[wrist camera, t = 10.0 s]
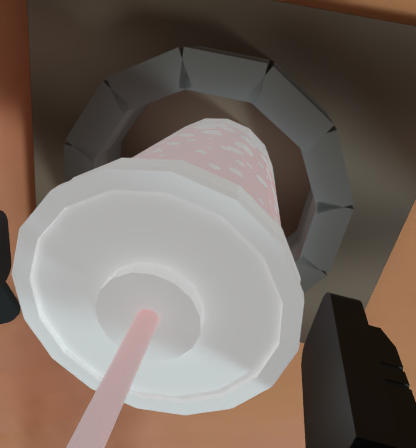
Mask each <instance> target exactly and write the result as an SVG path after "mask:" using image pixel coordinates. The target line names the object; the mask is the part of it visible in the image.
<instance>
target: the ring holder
mask: <svg viewBox="0 0 416 448" xmlns="http://www.w3.org/2000/svg"><path fill="white" fill-rule="evenodd" d="M27 9H28V32H29V55H30V78H31V101H32V124H33V147H34V170H35V192H36V208H37V207H38V205H39V204H40V203H41V202H42V200H43V199H44V198H45V197H46V196H47V194H48V193H49V192H50V191H51V190H52V189H54V188H55V187H57V186H58V185H60V184H63V183H65V182H68V181H70V180H71V179H72V178H73V177H76V176H78V175H81V174H83V173H86V172H88V171H91V170H93V169H95V168H98V167H100V166H103V165H105V164H108V163H110V162H113V161H115V160H117V159H120V158H132V157H134V156H136V155H137V154H139V153H141V152H142V151H144V150H146V149H148V148H149V147H151V146H153V145H154V144H156V143H158V142H160V141H161V140H163V139H165V138H166V137H168V136H170V135H172V134H173V133H175V132H177V131H179V130H180V129H182V128H184V127H186V126H188V125H190V124H193V123H195V122H198V121H200V120H203V119H205V118H210V119H229V120H232V121H234V122H236V123H238V124H241V125H243V126H245V127H247V128H249V129H250V130H251V131H252V132H253V133H254V134H255V135H256V136H257V137H258V138H259V139H260V140H261V142H262V143H263V144H264V145H265V147H266V150H267V152H268V155H269V158H270V161H271V163H272V167H273V174H274V181H275V188H276V194H277V201H278V208H279V215H280V222H281V228H282V230H283V232H284V235H285V238H286V240H287V243H288V245H289V248H290V251H291V253H292V256H293V259H294V261H295V264H296V267H297V269H298V272H299V275H300V277H301V280H300V285H301V287H302V290H303V292H304V309H303V317H302V325H301V333H300V342H302V343H305V341H306V338H307V336H308V333H309V331H310V328H311V326H312V323H313V321H314V318H315V316H316V313H317V311H318V308H319V306H320V303H321V301H322V298H323V296H324V295H325V294H326V293H327V292H329V293H333V294H337V295H341V296H345V297H349V298H353V299H357V300H360V301H361V302H362V304H363V308H364V310H365V308H366V305H367V303H368V301H369V299H370V297H371V295H372V292H373V290H374V288H375V286H376V284H377V282H378V279H379V277H380V275H381V273H382V271H383V269H384V266H385V264H386V262H387V260H388V258H389V256H390V253H391V251H392V249H393V247H394V245H395V243H396V240H397V238H398V236H399V234H400V232H401V230H402V228H403V225H404V223H405V221H406V219H407V217H408V215H409V212H410V210H411V208H412V206H413V204H414V202H415V199H416V26H410V25H405V24H399V23H394V22H389V21H383V20H378V19H372V18H367V17H361V16H356V15H350V14H345V13H339V12H334V11H329V10H323V9H318V8H312V7H307V6H301V5H296V4H290V3H285V2H279V1H274V0H27Z"/></svg>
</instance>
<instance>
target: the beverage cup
mask: <svg viewBox="0 0 416 448" xmlns="http://www.w3.org/2000/svg"><path fill="white" fill-rule="evenodd" d="M12 277H13V281H14V284H15V288H16V291H17V295H18V298H19V302H20V305H21V309H22V313H23V316H24V319H25V321H26V322H27V324H28V325H29V326H30V328H31V329H32V331H33V332H34V333H35V335H36V336H37V337H38V339H39V340H40V342H41V343H42V344H43V346H44V347H45V349H46V350H47V351H48V353H49V354H50V356H51V357H52V358H53V359H54V360H55V361H57V362H58V363H59V364H60V365H62V366H63V367H64V368H66V369H67V370H68V371H69V372H71V373H72V374H73V375H74V376H76V377H77V378H78V379H80V380H81V381H82V382H83V383H85V384H86V385H87V386H89V387H90V388H91V389H93V390H96V392H95V394H94V396H93V398H92V400H91V402H90V404H89V405H88V407H87V409H86V411H85V413H84V415H83V417H82V419H81V421H80V423H79V424H78V426H77V428H76V430H75V432H74V434H73V436H72V438H71V440H70V442H69V443H68V445H67V447H66V448H104V447H105V445H106V443H107V440H108V438H109V436H110V433H111V431H112V429H113V427H114V424H115V422H116V420H117V417H118V415H119V413H120V410H121V408H122V406H123V403H126V404H128V405H131V406H133V407H135V408H139V409H146V410H153V411H160V412H166V413H173V414H180V415H190V414H197V413H204V412H211V411H218V410H225V409H232V408H234V407H236V406H237V405H239V404H241V403H243V402H245V401H247V400H248V399H250V398H252V397H254V396H256V395H258V394H259V393H261V392H263V391H265V390H267V389H269V388H271V387H272V386H273V385H274V383H275V382H276V380H277V379H278V378H279V376H280V375H281V374H282V372H283V371H284V369H285V368H286V367H287V365H288V364H289V363H290V361H291V360H292V358H293V357H294V356H295V354H296V353H297V352H298V350H299V342H300V333H301V325H302V317H303V309H304V292H303V290H302V287H301V285H300V280H301V277H300V275H299V272H298V269H297V267H296V264H295V261H294V259H293V256H292V253H291V251H290V248H289V245H288V243H287V240H286V238H285V235H284V232H283V230H282V228H281V222H280V215H279V208H278V201H277V194H276V188H275V181H274V174H273V167H272V163H271V161H270V158H269V155H268V152H267V150H266V147H265V145H264V144H263V143H262V142H261V140H260V139H259V138H258V137H257V136H256V135H255V134H254V133H253V132H252V131H251V130H250V129H249V128H247V127H245V126H243V125H241V124H238V123H236V122H234V121H232V120H229V119H210V118H205V119H203V120H200V121H198V122H195V123H193V124H190V125H188V126H186V127H184V128H182V129H180V130H179V131H177V132H175V133H173V134H172V135H170V136H168V137H166V138H165V139H163V140H161V141H160V142H158V143H156V144H154V145H153V146H151V147H149V148H148V149H146V150H144V151H142V152H141V153H139V154H137V155H136V156H134V157H132V158H120V159H117V160H115V161H113V162H110V163H108V164H105V165H103V166H100V167H98V168H95V169H93V170H91V171H88V172H86V173H83V174H81V175H78V176H76V177H73V178H72V179H71V180H70V181H68V182H65V183H63V184H60V185H58V186H57V187H55V188H54V189H52V190H51V191H50V192H49V193H48V194H47V196H46V197H45V198H44V199H43V200H42V202H41V203H40V204H39V205H38V207H37V208H36V209H35V210H34V211H33V213H32V214H31V215H30V216H29V218H28V219H27V220H26V221H25V223H24V224H23V225H22V226H21V227H20V229H19V234H18V240H17V246H16V252H15V258H14V264H13V270H12Z"/></svg>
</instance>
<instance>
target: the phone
mask: <svg viewBox="0 0 416 448" xmlns="http://www.w3.org/2000/svg"><path fill="white" fill-rule="evenodd" d="M19 313H20V305H19V302H18V300H17V299H16V297H15V296H14V294H13V292H12V291H11V289H10V288H9V286H8V285H7V283H6V282H5V283H4V284H3V285H2V286H1V287H0V324H3V323H7V322H10V321H12V320H14V319H15V318H16V317H17V315H18V314H19Z"/></svg>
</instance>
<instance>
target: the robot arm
mask: <svg viewBox="0 0 416 448" xmlns="http://www.w3.org/2000/svg"><path fill="white" fill-rule="evenodd" d="M10 269H11V253H10V242H9V230H8V220H7V216H6V214H5V213H4V212H3V211H1V210H0V287H1V286H2V285H3V284H4V283H5V281H6V280H7V278H8V276H9V273H10ZM301 369H302V387H303V406H304V425H305V443H306V448H416V402H415V399H414V396H413V393H412V391H411V390H410V389H409V382H408V380H407V377H406V374H405V372H403V366H402V363H401V360H400V358H399V355H398V352H397V349H396V347H395V346H394V344H393V343H392V342H391V341H390V340H389V338H388V337H387V336H386V335H385V333H384V332H383V331H382V330H381V328H378V327H374V326H370V325H368V321H367V318H366V314H365V311H364V308H363V304H362V302H361V301H360V300H357V299H353V298H349V297H345V296H341V295H337V294H333V293H329V292H327V293H326V294H325V295H324V296H323V298H322V301H321V303H320V306H319V308H318V311H317V313H316V316H315V318H314V321H313V323H312V326H311V328H310V331H309V333H308V336H307V338H306V341H305V344H304V348H303V354H302V363H301Z"/></svg>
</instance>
